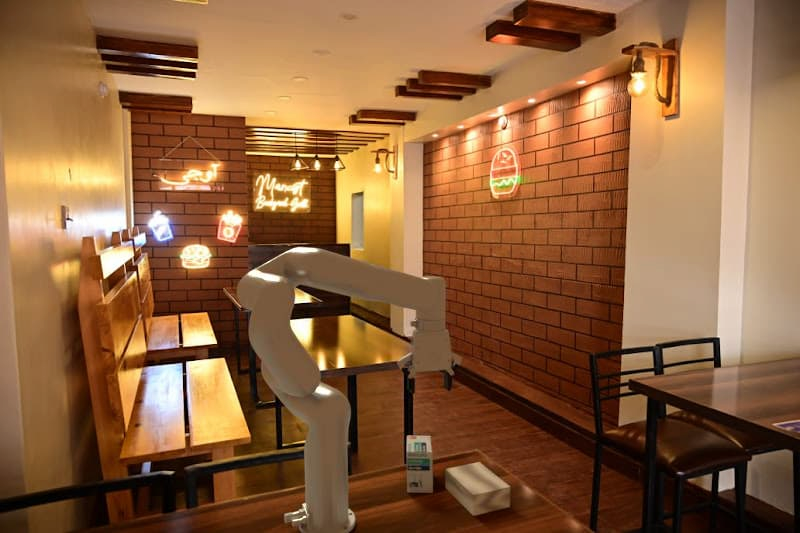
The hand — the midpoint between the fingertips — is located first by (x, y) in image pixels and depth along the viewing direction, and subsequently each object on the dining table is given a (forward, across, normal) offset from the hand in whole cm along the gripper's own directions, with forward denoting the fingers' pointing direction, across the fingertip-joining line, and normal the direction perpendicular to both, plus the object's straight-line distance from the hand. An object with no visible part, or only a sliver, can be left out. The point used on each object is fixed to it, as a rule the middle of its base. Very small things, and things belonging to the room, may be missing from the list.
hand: (429, 390), depth 134 cm
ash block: (+25, +9, -10) cm, 28 cm away
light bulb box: (+25, -2, +1) cm, 25 cm away
